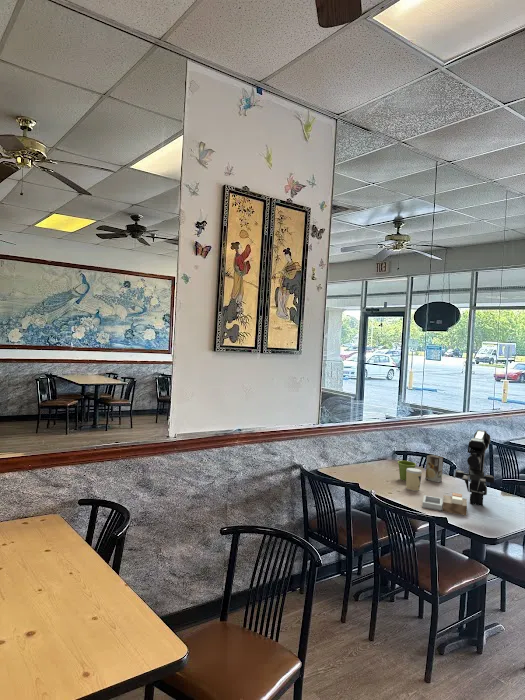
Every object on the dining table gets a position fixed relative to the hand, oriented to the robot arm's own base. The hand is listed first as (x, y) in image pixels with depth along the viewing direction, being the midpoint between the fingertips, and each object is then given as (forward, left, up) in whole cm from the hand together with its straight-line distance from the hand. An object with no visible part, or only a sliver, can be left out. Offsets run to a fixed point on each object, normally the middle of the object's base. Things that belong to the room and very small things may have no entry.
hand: (472, 492), depth 262 cm
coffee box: (+22, -61, -12) cm, 65 cm away
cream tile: (+8, 0, -7) cm, 10 cm away
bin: (+20, -4, -12) cm, 24 cm away
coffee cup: (+33, -31, -12) cm, 46 cm away
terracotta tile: (+8, -7, -7) cm, 12 cm away
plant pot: (+39, -50, -12) cm, 64 cm away
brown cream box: (+9, -4, -12) cm, 15 cm away
